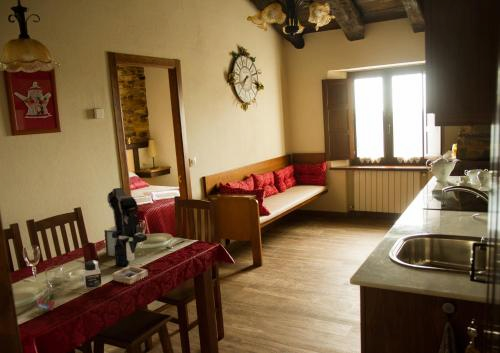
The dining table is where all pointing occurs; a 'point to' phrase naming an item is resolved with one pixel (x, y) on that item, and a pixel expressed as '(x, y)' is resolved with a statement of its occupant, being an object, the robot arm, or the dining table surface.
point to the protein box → (110, 240)
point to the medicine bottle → (92, 275)
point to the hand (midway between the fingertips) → (130, 252)
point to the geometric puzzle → (45, 303)
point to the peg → (129, 252)
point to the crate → (131, 270)
